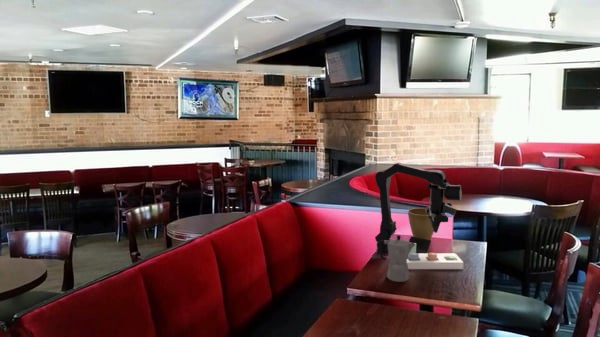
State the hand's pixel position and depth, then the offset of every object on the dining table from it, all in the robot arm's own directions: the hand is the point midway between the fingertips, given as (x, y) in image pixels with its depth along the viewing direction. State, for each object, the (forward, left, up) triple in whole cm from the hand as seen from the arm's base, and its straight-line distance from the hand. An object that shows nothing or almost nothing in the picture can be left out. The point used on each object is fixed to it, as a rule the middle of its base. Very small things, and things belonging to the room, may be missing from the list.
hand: (435, 232), depth 210 cm
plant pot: (0, +27, -13) cm, 30 cm away
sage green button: (+5, -8, -13) cm, 15 cm away
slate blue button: (-11, -8, -11) cm, 17 cm away
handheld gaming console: (-6, +12, -13) cm, 19 cm away
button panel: (-3, -7, -13) cm, 15 cm away
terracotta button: (-3, -8, -11) cm, 14 cm away
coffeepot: (-21, -22, -13) cm, 33 cm away
